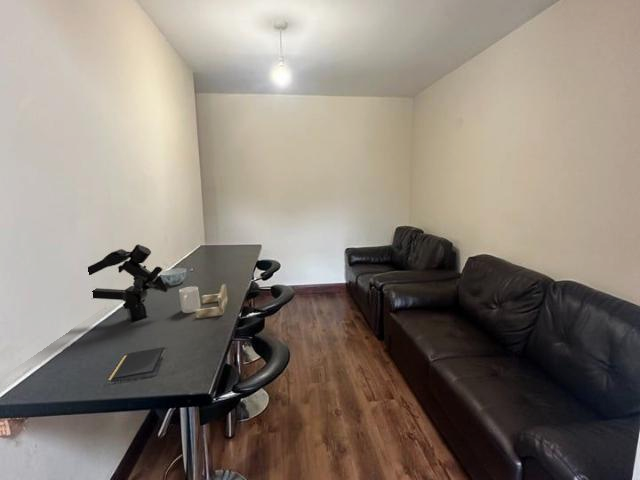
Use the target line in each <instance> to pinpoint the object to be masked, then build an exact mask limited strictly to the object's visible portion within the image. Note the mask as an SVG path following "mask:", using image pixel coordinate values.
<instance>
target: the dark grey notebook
mask: <svg viewBox="0 0 640 480" xmlns="http://www.w3.org/2000/svg"><path fill="white" fill-rule="evenodd" d="M166 348H167V347H165V346H163V347H157V348H153V349H152V348H151V349H144V350H140V351H135V352H133V351H132V352H129V353H126V354H123V356H122V357H123V358H122V357H121V359H122V360H121V359H120V360H121V361H120V360H119V362H120V363H119V362H118V363H119V364H118V363H117V365H118V366H117V365H116V366H117V367H116V366H115V368H116V369H115V368H114V369H115V370H114V369H113V371H114V372H113V371H112V372H113V373H112V372H111V374H112V375H111V374H110V375H111V376H110V375H109V377H110V378H109V377H108V378H109V379H108V378H107V380H111V382H119V381H120V382H122V381H123V382H124V381H130V380H135V381H138V380H137V379H141V380H145V379H151V378H154V377H156V376H157V375H158V373H159V371H160V368H161V366H162V363H163V361H164V359H163V357H161V354H162V352H163V350H164V349H166ZM160 357H161V358H160ZM162 360H163V361H162ZM161 362H162V363H161ZM130 382H131V381H130ZM124 383H125V382H124Z"/></svg>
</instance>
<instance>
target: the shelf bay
mask: <svg viewBox="0 0 640 480" xmlns="http://www.w3.org/2000/svg"><path fill="white" fill-rule="evenodd" d="M227 293H228V291H227V285H226V283H225V284H224V283H223V284H221V287H220V291H219V293H214V294H205V295H202V303H203V304H209V302H210V303H215V302H217V301H218V302H217V303H218V306H213V307H204V308H200V309H197V310H196V311H195V317H196V319H201V318H202V319H203V318H209V317H216V316H224V315H225V309H226V307H227V306H226V305H227V302H228V294H227Z"/></svg>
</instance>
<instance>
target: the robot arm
mask: <svg viewBox="0 0 640 480" xmlns="http://www.w3.org/2000/svg"><path fill="white" fill-rule="evenodd" d="M151 254H152V251H151V249H150V248H148V247H146V246H143V245H141V244H139V243H138V244H135V246H134V248H133V249H132V250H131V251H127V250H125V249H122V248H120V249H117V250H115V251H111V252H109V253H108V254H107V255H106V256H104V258H103V259H101V260H99V261H97V262H96V263H93V264H91V265H89V266H87V267H88V272H89V275H90V276H92V275H94V274H96V273H99V272H100V271H102V270H104V269H106V268H109V267H113V266H117V265H119V264H122V263H123V264H122V265H119V266H117V269H118V273H119V274H120V273H122V272H123V271H124V272H126V273H127V274H129V275H130V276H133V283H132V285H131V286H128V287H127V288H125V289H118V288H117V289H115V288H97V287H95V288H96V289H95V290H93V291H92V292H93V298H92V299H100V300H115V301H116V300H118V301H123V302H124V303H123V304H122V306H123V308H124V310H126V311H127V316H128V317H127V318H126V319H127V320H128V321H130V322H131V323H132V322H136V321H140V320H143V319H146V318H148V315H147V313H148V312H147V308H146V306H145V304H144V303H145V301H146V298H147V297H148V291H149V290H157V291H160V292H163V293H167V292H168V288H167V286H166V285H165V283H164V281H163V280H162V278H161V275H160V273H161V272H163V270H164V269H163V268H162V267H161V266H155V268H153V269H152V270H151V271H150V270H149V269H148V268H147V266H146V265H141V264H144V263H145V261H146V260H147V259H148V258H149V257H150V255H151Z"/></svg>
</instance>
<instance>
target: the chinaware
mask: <svg viewBox="0 0 640 480" xmlns="http://www.w3.org/2000/svg"><path fill="white" fill-rule="evenodd" d="M186 274H187V269H186V268H184V267H183V268H182V267H180V268H178V267H177V268H170V269H167V270H164V271H163V270H162V271H161V272H160V273H159V275H161V278H162V281H163V282H165V283H167V284H168V285H169V286H177V285H180V284H181V283H182V281H183V280H184V279H185V277H186Z"/></svg>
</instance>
